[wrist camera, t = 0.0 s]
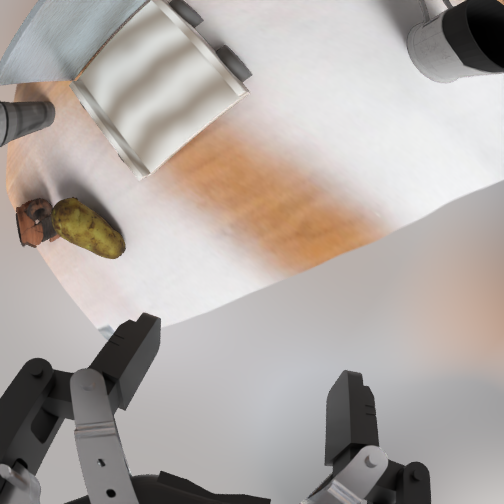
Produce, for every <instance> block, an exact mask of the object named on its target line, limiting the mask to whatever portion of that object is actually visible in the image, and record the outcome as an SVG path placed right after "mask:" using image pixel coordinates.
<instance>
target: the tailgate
mask: <svg viewBox="0 0 504 504" xmlns="http://www.w3.org/2000/svg"><path fill="white" fill-rule="evenodd" d="M146 1H147V0H39V1H38V2H37V3H36V5H35V6H34V7H33V9H32V10H31V12H30V13H29V15H28V16H27V17H26V19H25V20H24V22H23V23H22V25H21V26H20V28H19V30H18V31H17V33H16V34H15V36H14V38H13V39H12V41H11V43H10V44H9V46H8V48H7V50H6V51H5V53H4V55H3V57H2V59H1V61H0V85H8V84H17V83H28V82H43V81H74V79H75V78H76V77H77V75H78V74H79V73H80V72H81V70H82V69H83V68H84V66H85V65H86V64H87V63H88V62H89V60H90V59H91V58H92V57H93V55H94V54H95V53H96V52H97V51H98V50H99V48H100V47H101V46H102V45H103V44H104V43H105V42H106V41H107V39H108V38H109V37H110V36H111V35H112V34H113V33H114V32H115V31H116V30H117V29H118V28H119V27H120V26H121V25H122V24H123V23H124V22H125V21H126V20H127V19H128V18H129V17H130V16H131V15H132V14H133V13H134V12H135V11H136V10H137V9H138V8H139V7H140V6H141V5H142V4H143V3H144V2H146Z"/></svg>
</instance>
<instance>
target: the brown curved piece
mask: <svg viewBox="0 0 504 504" xmlns="http://www.w3.org/2000/svg"><path fill="white" fill-rule="evenodd" d="M51 211H52V206H51V205H50V204H49V203H48V201H47V200H45V199H41V198H39V199H35V200H33V201H32V200H31V201H28V202H26V203H25V204H22V206H21V207H17V208H16V212H17V213H16V220H17V227H18V233H19V238H20V242H21V244H22V246H25V245H29V246H31V247H34V248H36V247H37V246H35V245H39V244H40V243H41V242H43V241H46V240H48V239H49V238H50V240H49V241H50V242H52V241H54V240H56V239H57V238H59V237H60V236H59V235H58V234H57V233H56V231H55V230H54V227H53V225H52V217H51V214H50V213H51ZM37 219H38V220H39V221H40V222H39V223H37V224H35V220H37ZM32 244H33V245H32Z"/></svg>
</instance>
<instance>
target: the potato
mask: <svg viewBox="0 0 504 504" xmlns="http://www.w3.org/2000/svg"><path fill="white" fill-rule="evenodd" d="M51 217H52V225H53V227H54V230H55V231H56V233H57V234H58V235H59V236H60V237H62V238H64V239H66V240H67V241H69V242H70V243H73V244H75V245H78V246H80V247H82V248H85V249H87V250H89V251H91V252H93V253H95V254H97V255H99V256H101V257H105V258H109V259H116V258H118V257H119V256H121V255H122V253H124V251H125V249H126V248H125V242H124V239H123V237H122V235H121V234H120V233H119V232H118V231H115V230H113V229H112V227H111V226H110V225H109V224H108V222H107V221H106V220H105V219H104V218H102V217H101V216H100V215H99V214H97V213H96V212H94V211H93V210H91V209H90V208H88V207H87V206H85V205H84V204H82V203H81V202H80V201H78V199H77V198H74V197H72V198H67V199H64V200H61V201H59V202H58V203H57V204H56V205H55V206H54V208H53V210H52V214H51Z"/></svg>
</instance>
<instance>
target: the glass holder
mask: <svg viewBox="0 0 504 504" xmlns="http://www.w3.org/2000/svg"><path fill="white" fill-rule="evenodd" d="M443 2H444V3H445V5H446V6H447V8H448V9H447V10H445V11H444V12H442V13H441V14H439V15H437V16H436V17H434V18H433V19H431V20H430V21H429V15H428V11H427V8H426V4H425V1H424V0H419V3H420V6H421V9H422V12H423V16H424V21H423V23H420V24H418V25H416V26H414V27H413V28H412V29H411V31H410V32H409V35H408V39H407V48H408V52H409V55H410V58H411V60H412V62H413V63H414V65H415V66H416V68H417V69H418V70H419V71H420V72H421V73H422V74H423V75H424V76H426V77H427V78H429V79H431V80H433V81H435V82H439V83H451V82H453V81H455V80H457V79H458V78H463V77H471V76H480V75H490V74H501V73H504V5H503V4H501V3H500V2H499V1H497V0H466V1H464V2H462V3H460V4H459V5H457V6H454V7H453V6H452V5H451V3H450V2H449V0H443Z"/></svg>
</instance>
